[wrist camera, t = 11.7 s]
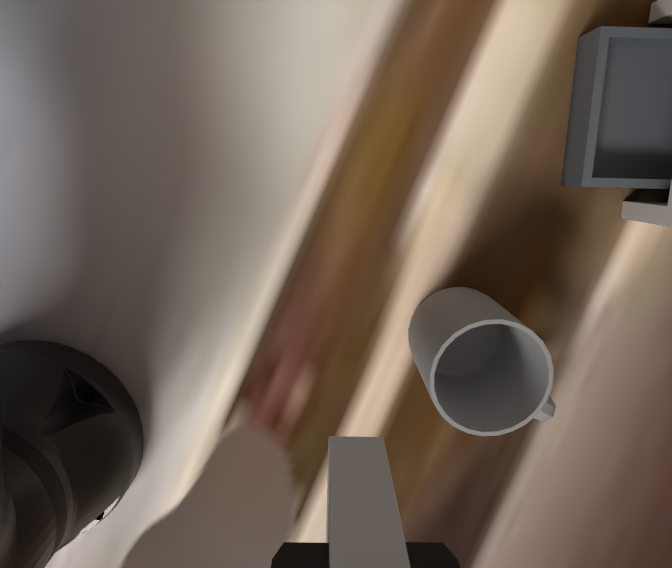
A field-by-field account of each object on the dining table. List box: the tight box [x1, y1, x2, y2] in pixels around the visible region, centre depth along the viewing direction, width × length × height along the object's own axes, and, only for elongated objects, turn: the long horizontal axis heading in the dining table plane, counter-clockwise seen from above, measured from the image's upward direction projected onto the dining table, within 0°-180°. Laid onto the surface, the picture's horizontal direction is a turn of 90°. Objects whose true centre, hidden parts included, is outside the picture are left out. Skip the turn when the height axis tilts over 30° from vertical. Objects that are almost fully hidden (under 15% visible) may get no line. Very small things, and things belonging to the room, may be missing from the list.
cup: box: [408, 287, 556, 436], centre depth 35 cm, size 7×10×9 cm
